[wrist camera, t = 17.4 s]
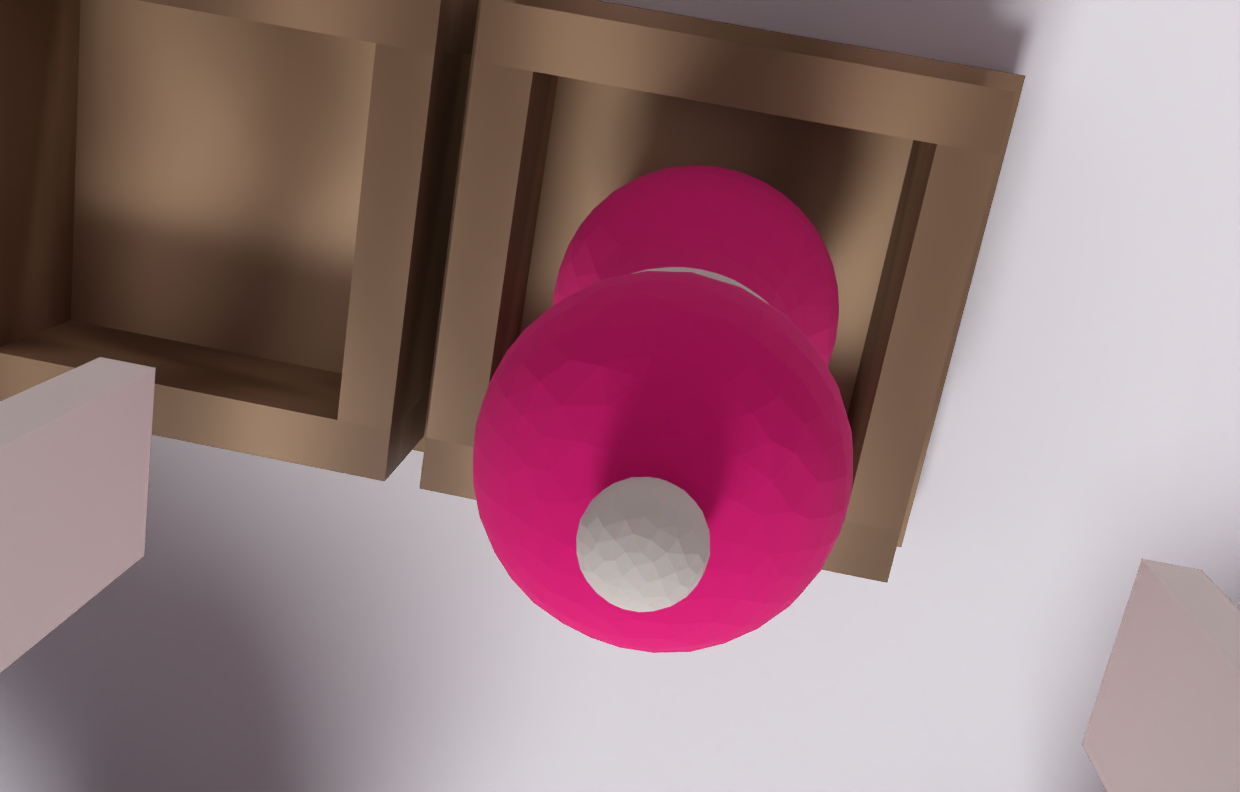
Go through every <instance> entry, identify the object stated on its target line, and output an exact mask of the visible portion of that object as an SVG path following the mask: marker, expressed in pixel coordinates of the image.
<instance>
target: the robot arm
mask: <svg viewBox="0 0 1240 792" xmlns="http://www.w3.org/2000/svg"><path fill="white" fill-rule="evenodd" d="M154 385H155V368H154V367H149V366H144V365H139V364H133V363H128V362H123V361H118V360H113V359H108V358H103V357H99V358H97V359H95V360H92V361H90V362H88V363H86V364H83V365H81V366H79V367H77V368H74V369H72V370H70V371H68V372H65V373H63V374H61V375H59V376H56V377H54V378H52V379H50V380H48V381H45V382H43V383H41V384H39V385H36V386H34V387H32V388H30V389H27V390H25V391H23V392H21V393H18V394H16V395H14V396H12V397H9V398H7V399H5V400H3V401H0V673H1V672H2V671H4V670H5V669H6V668H7V667H8V666H10V665H11V664H12V663H13V662H15V661H16V660H17V659H18V658H19V657H21V656H22V655H23V654H24V653H26V652H27V651H28V650H29V649H30V648H32V647H33V646H34V645H35V644H37V643H38V642H39V641H40V640H41V639H43V638H44V637H45V636H46V635H48V634H49V633H50V632H51V631H53V630H54V629H55V628H56V627H57V626H59V625H60V624H61V623H62V622H64V621H65V620H66V619H67V618H68V617H70V616H71V615H72V614H73V613H75V612H76V611H77V610H78V609H79V608H81V607H82V606H83V605H84V604H86V603H87V602H88V601H89V600H91V599H92V598H93V597H94V596H95V595H97V594H98V593H99V592H100V591H102V590H103V589H104V588H105V587H106V586H108V585H109V584H110V583H111V582H113V581H114V580H115V579H116V578H117V577H119V576H120V575H121V574H122V573H124V572H125V571H126V570H127V569H129V568H130V567H131V566H132V565H133V564H135V563H136V562H137V561H138V560H140V559H141V558H142V557H143V556H144V552H145V535H146V519H147V502H148V485H149V468H150V452H151V435H152V418H153V401H154ZM1082 745H1083V747H1084V749H1085V751H1086V753H1087V755H1088V757H1089V759H1090V761H1091V762H1092V764H1093V766H1094V768H1095V770H1096V772H1097V774H1098V776H1099V778H1100V780H1101V782H1102V783H1103V785H1104V787H1105V789H1106V791H1107V792H1240V610H1239V609H1238V608H1237V607H1236V606H1235V605H1234V604H1233V603H1232V602H1231V600H1230V599H1229V598H1228V597H1227V596H1226V595H1225V594H1224V593H1223V592H1222V591H1221V590H1220V589H1219V588H1218V587H1217V586H1216V585H1215V584H1214V583H1213V582H1212V580H1211V579H1210V578H1209V577H1208V576H1207V575H1206V574H1205V573H1204V572H1203V571H1202V570H1197V569H1192V568H1187V567H1182V566H1176V565H1171V564H1166V563H1161V562H1156V561H1151V560H1145V559H1142V561H1141V564H1140V567H1139V570H1138V573H1137V576H1136V579H1135V582H1134V585H1133V588H1132V591H1131V595H1130V598H1129V601H1128V604H1127V607H1126V610H1125V613H1124V616H1123V619H1122V622H1121V625H1120V628H1119V632H1118V635H1117V638H1116V641H1115V644H1114V647H1113V650H1112V653H1111V656H1110V659H1109V662H1108V665H1107V668H1106V672H1105V675H1104V678H1103V681H1102V684H1101V687H1100V690H1099V693H1098V696H1097V699H1096V702H1095V705H1094V709H1093V712H1092V715H1091V718H1090V721H1089V724H1088V727H1087V730H1086V733H1085V736H1084V739H1083V742H1082Z"/></svg>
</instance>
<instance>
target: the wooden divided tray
mask: <svg viewBox="0 0 1240 792" xmlns="http://www.w3.org/2000/svg"><path fill="white" fill-rule="evenodd" d="M1024 79H1025V76H1024V75H1018V74H1012V73H1007V72H1001V71H995V70H990V69H984V68H978V67H973V66H967V65H961V64H956V63H950V62H944V61H939V60H933V59H927V58H922V57H916V56H910V55H904V54H899V53H893V52H887V51H882V50H876V49H870V48H865V47H859V46H853V45H848V44H842V43H836V42H831V41H825V40H819V39H814V38H808V37H802V36H796V35H791V34H785V33H779V32H774V31H768V30H762V29H757V28H751V27H745V26H740V25H734V24H728V23H723V22H717V21H711V20H706V19H700V18H694V17H688V16H683V15H677V14H671V13H666V12H660V11H654V10H649V9H643V8H637V7H632V6H626V5H620V4H615V3H609V2H603V1H597V0H0V401H3V400H5V399H7V398H9V397H12V396H14V395H16V394H18V393H21V392H23V391H25V390H27V389H30V388H32V387H34V386H36V385H39V384H41V383H43V382H45V381H48V380H50V379H52V378H54V377H56V376H59V375H61V374H63V373H65V372H68V371H70V370H72V369H74V368H77V367H79V366H81V365H83V364H86V363H88V362H90V361H92V360H95V359H97V358H99V357H103V358H108V359H113V360H118V361H123V362H128V363H133V364H139V365H144V366H149V367H154V368H155V385H154V401H153V418H152V434H153V435H158V436H163V437H168V438H173V439H178V440H183V441H187V442H192V443H197V444H202V445H207V446H212V447H217V448H222V449H227V450H232V451H237V452H242V453H247V454H252V455H257V456H262V457H267V458H272V459H277V460H282V461H287V462H292V463H297V464H301V465H306V466H311V467H316V468H321V469H326V470H331V471H336V472H341V473H346V474H351V475H356V476H361V477H366V478H371V479H376V480H381V481H385V480H386V479H387V478H388V477H389V476H390V474H391V473H392V472H393V471H394V470H395V469H396V468H397V466H398V465H399V464H400V463H401V462H402V461H403V460H404V458H405V457H406V456H407V455H408V454H409V453H410V451H411V450H417V451H422V452H424V458H423V465H422V473H421V481H420V489H425V490H430V491H435V492H440V493H445V494H450V495H455V496H460V497H465V498H470V499H475V500H476V496H475V491H474V486H473V447H474V436H475V425H476V422H477V419H478V415H479V412H480V409H481V406H482V402H483V399H484V397H485V394H486V391H487V388H488V385H489V383H490V381H491V379H492V377H493V375H494V373H495V371H496V369H497V368H498V366H499V364H500V362H501V360H502V359H503V357H504V355H505V353H506V351H507V350H508V349H509V348H510V347H511V345H512V344H513V343H514V342H515V341H516V339H517V338H518V337H519V336H520V335H521V333H522V332H523V331H524V330H525V329H526V328H527V327H528V326H529V325H530V324H531V323H533V322H534V321H535V320H536V319H537V318H539V317H540V316H541V315H542V314H543V313H544V312H546V311H547V310H548V309H549V308H551V307H552V306H553V294H554V290H555V285H556V280H557V276H558V271H559V268H560V266H561V263H562V261H563V258H564V255H565V253H566V250H567V247H568V245H569V243H570V242H571V240H572V238H573V236H574V235H575V233H576V231H577V230H578V228H579V226H580V225H581V224H582V222H583V221H584V220H585V219H586V217H587V216H588V215H589V214H590V213H591V211H592V210H593V209H594V208H595V207H596V206H597V205H599V204H600V203H601V202H602V201H603V200H604V199H605V198H607V197H608V196H609V195H610V194H611V193H612V192H614V191H615V190H617V189H619V188H620V187H622V186H624V185H626V184H628V183H629V182H631V181H633V180H635V179H637V178H638V177H641V176H644V175H647V174H650V173H653V172H656V171H659V170H662V169H665V168H673V167H682V166H691V165H699V166H716V167H721V168H725V169H730V170H734V171H739V172H742V173H744V174H747V175H749V176H752V177H754V178H756V179H759V180H761V181H763V182H765V183H767V184H768V185H770V186H771V187H773V188H775V189H776V190H778V191H779V192H781V193H783V194H784V195H785V196H786V197H787V198H788V199H789V200H791V201H792V202H793V203H794V204H795V205H796V206H798V207H799V208H800V209H801V211H802V212H803V213H804V214H805V216H806V217H807V218H808V219H809V220H810V222H811V223H812V224H813V225H814V227H815V228H816V230H817V232H818V233H819V235H820V237H821V239H822V240H823V242H824V244H825V246H826V248H827V251H828V253H829V256H830V258H831V261H832V263H833V266H834V271H835V276H836V280H837V285H838V297H839V319H838V327H837V335H836V342H835V345H834V348H833V352H832V355H831V358H830V361H829V365H828V369H829V371H830V372H831V374H832V376H833V378H834V380H835V382H836V383H837V385H838V387H839V390H840V394H841V397H842V400H843V404H844V407H845V411H846V414H847V418H848V421H849V424H850V428H851V431H852V444H853V484H852V490H851V495H850V501H849V506H848V509H847V513H846V516H845V519H844V522H843V526H842V529H841V532H840V534H839V536H838V538H837V540H836V542H835V544H834V546H833V548H832V550H831V552H830V554H829V556H828V558H827V559H826V561H825V563H824V565H823V567H822V570H827V571H832V572H837V573H842V574H847V575H852V576H857V577H862V578H867V579H872V580H877V581H882V582H887V581H888V577H889V574H890V570H891V566H892V562H893V558H894V554H895V551H896V547H901V546H902V542H903V538H904V535H905V531H906V527H907V523H908V519H909V516H910V512H911V508H912V504H913V500H914V497H915V493H916V489H917V485H918V481H919V478H920V474H921V470H922V466H923V462H924V459H925V455H926V451H927V447H928V443H929V440H930V436H931V432H932V428H933V425H934V421H935V417H936V413H937V409H938V406H939V402H940V398H941V394H942V390H943V387H944V383H945V379H946V375H947V371H948V368H949V364H950V360H951V356H952V352H953V349H954V345H955V341H956V337H957V333H958V330H959V326H960V322H961V318H962V314H963V311H964V307H965V303H966V299H967V295H968V292H969V288H970V284H971V280H972V276H973V273H974V269H975V265H976V261H977V257H978V254H979V250H980V246H981V242H982V238H983V235H984V231H985V227H986V223H987V219H988V216H989V212H990V208H991V204H992V200H993V197H994V193H995V189H996V185H997V181H998V178H999V174H1000V170H1001V166H1002V162H1003V159H1004V155H1005V151H1006V147H1007V144H1008V140H1009V136H1010V132H1011V128H1012V125H1013V121H1014V117H1015V113H1016V109H1017V106H1018V102H1019V98H1020V94H1021V90H1022V87H1023V83H1024Z"/></svg>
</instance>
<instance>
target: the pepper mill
mask: <svg viewBox="0 0 1240 792" xmlns="http://www.w3.org/2000/svg"><path fill="white" fill-rule="evenodd" d="M838 319H839V297H838V285H837V280H836V276H835V271H834V266H833V263H832V261H831V258H830V256H829V253H828V251H827V248H826V246H825V244H824V242H823V240H822V239H821V237H820V235H819V233H818V232H817V230H816V228H815V227H814V225H813V224H812V223H811V222H810V220H809V219H808V218H807V217H806V216H805V214H804V213H803V212H802V211H801V209H800V208H799V207H798V206H796V205H795V204H794V203H793V202H792V201H791V200H789V199H788V198H787V197H786V196H785V195H784V194H783V193H781V192H779V191H778V190H776V189H775V188H773V187H771V186H770V185H768V184H767V183H765V182H763V181H761V180H759V179H756V178H754V177H752V176H749V175H747V174H744V173H742V172H739V171H734V170H730V169H725V168H721V167H716V166H699V165H691V166H682V167H673V168H665V169H662V170H659V171H656V172H653V173H650V174H647V175H644V176H641V177H638V178H637V179H635V180H633V181H631V182H629V183H628V184H626V185H624V186H622V187H620V188H619V189H617V190H615V191H614V192H612V193H611V194H610V195H609V196H608V197H607V198H605V199H604V200H603V201H602V202H601V203H600V204H599V205H597V206H596V207H595V208H594V209H593V210H592V211H591V213H590V214H589V215H588V216H587V217H586V219H585V220H584V221H583V222H582V224H581V225H580V226H579V228H578V230H577V231H576V233H575V235H574V236H573V238H572V240H571V242H570V243H569V245H568V247H567V250H566V253H565V255H564V258H563V261H562V263H561V266H560V268H559V271H558V276H557V280H556V285H555V290H554V294H553V306H552V307H551V308H549V309H548V310H547V311H546V312H544V313H543V314H542V315H541V316H540V317H539V318H537V319H536V320H535V321H534V322H533V323H531V324H530V325H529V326H528V327H527V328H526V329H525V330H524V331H523V332H522V333H521V335H520V336H519V337H518V338H517V339H516V341H515V342H514V343H513V344H512V345H511V347H510V348H509V349H508V350H507V351H506V353H505V355H504V357H503V359H502V360H501V362H500V364H499V366H498V368H497V369H496V371H495V373H494V375H493V377H492V379H491V381H490V383H489V385H488V388H487V391H486V394H485V397H484V399H483V402H482V406H481V409H480V412H479V415H478V419H477V422H476V425H475V436H474V447H473V486H474V491H475V496H476V501H477V505H478V510H479V515H480V518H481V521H482V523H483V526H484V528H485V530H486V533H487V535H488V537H489V540H490V542H491V545H492V547H493V549H494V552H495V553H496V555H497V557H498V558H499V560H500V561H501V563H502V565H503V566H504V568H505V569H506V571H507V572H508V574H509V576H510V577H511V579H512V580H513V581H514V582H515V583H516V584H517V585H518V586H519V587H520V588H521V589H522V590H523V592H524V593H525V594H526V595H527V596H528V597H529V598H530V599H531V600H532V601H533V602H534V603H535V604H536V605H538V606H539V607H541V608H542V609H543V610H545V611H546V612H548V613H549V614H550V615H552V616H553V617H555V618H556V619H558V620H559V621H560V622H562V623H563V624H565V625H567V626H569V627H571V628H573V629H575V630H577V631H579V632H581V633H583V634H585V635H587V636H589V637H591V638H594V639H597V640H600V641H603V642H606V643H609V644H612V645H615V646H617V647H621V648H627V649H634V650H640V651H647V652H653V653H656V652H691V651H695V650H699V649H703V648H707V647H711V646H715V645H719V644H723V643H726V642H728V641H731V640H733V639H735V638H737V637H740V636H742V635H744V634H746V633H749V632H751V631H753V630H756V629H758V628H759V627H761V626H762V625H763V624H765V623H766V622H768V621H769V620H771V619H772V618H773V617H775V616H776V615H778V614H779V613H780V612H782V611H783V610H785V609H786V608H787V607H789V606H790V605H791V604H792V603H793V602H794V601H795V600H796V599H797V598H798V597H799V595H800V594H801V593H802V592H803V591H804V590H805V588H806V587H807V586H808V585H809V584H810V582H811V581H812V580H813V579H814V578H815V577H816V575H817V574H818V573H819V572H820V571H821V569H822V567H823V565H824V563H825V561H826V559H827V558H828V556H829V554H830V552H831V550H832V548H833V546H834V544H835V542H836V540H837V538H838V536H839V534H840V532H841V529H842V526H843V522H844V519H845V516H846V513H847V509H848V506H849V501H850V495H851V490H852V484H853V444H852V431H851V428H850V424H849V421H848V418H847V414H846V411H845V407H844V404H843V400H842V397H841V394H840V390H839V387H838V385H837V383H836V382H835V380H834V378H833V376H832V374H831V372H830V371H829V369H828V365H829V361H830V358H831V355H832V352H833V348H834V345H835V342H836V335H837V327H838Z"/></svg>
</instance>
